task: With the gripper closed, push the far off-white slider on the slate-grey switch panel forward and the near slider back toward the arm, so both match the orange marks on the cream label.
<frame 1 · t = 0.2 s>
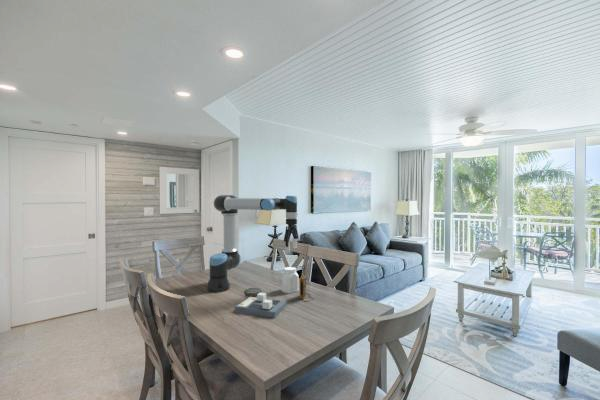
hand: (291, 249, 188), 28 cm above the table, tool pointing down, fingers open, 13 cm apart
switch panel: (261, 309, 157), on the table
near slider: (267, 304, 151), point 5 cm above the table, slide at 4.0 cm
jar: (290, 290, 189), on the table
far slider: (261, 296, 162), point 5 cm above the table, slide at -4.0 cm
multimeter: (308, 298, 175), on the table
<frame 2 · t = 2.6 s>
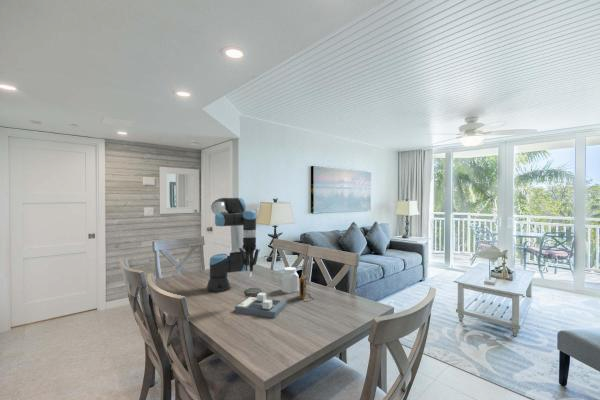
hand: (249, 276, 164), 16 cm above the table, tool pointing down, fingers closed
nothing on the table moved.
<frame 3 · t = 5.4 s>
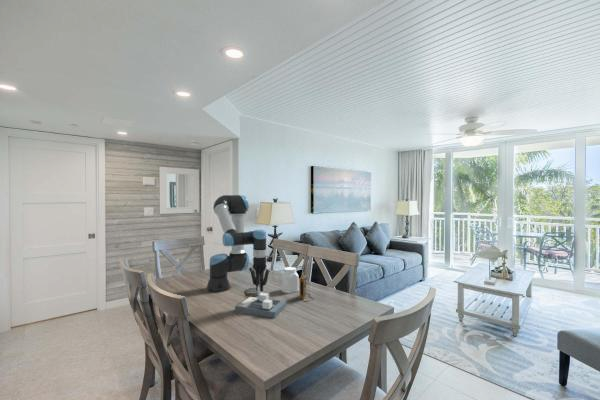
hand: (259, 296, 162), 5 cm above the table, tool pointing down, fingers closed
far slider: (264, 297, 162), point 5 cm above the table, slide at -2.4 cm, touching gripper
everything else where it was.
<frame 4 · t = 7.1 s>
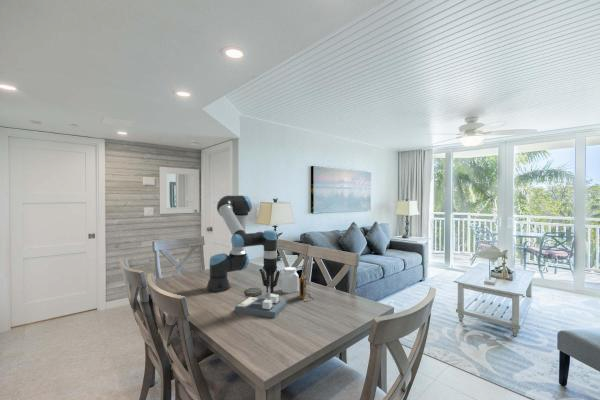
hand: (270, 298, 160), 5 cm above the table, tool pointing down, fingers closed
far slider: (274, 298, 159), point 5 cm above the table, slide at 4.1 cm, touching gripper
everything else where it was.
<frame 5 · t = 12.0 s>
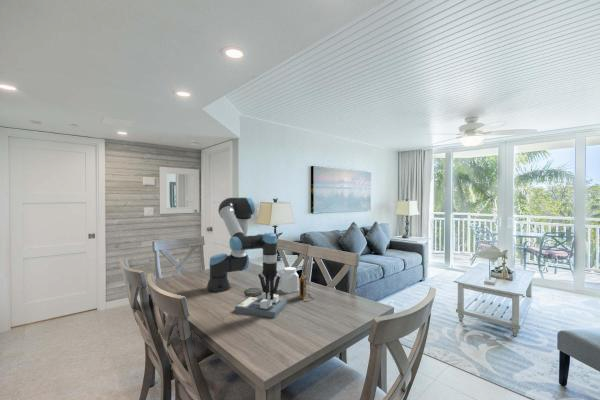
hand: (269, 305, 151), 5 cm above the table, tool pointing down, fingers closed
near slider: (265, 303, 151), point 5 cm above the table, slide at 2.6 cm, touching gripper
far slider: (274, 298, 159), point 5 cm above the table, slide at 4.1 cm
everything else where it was.
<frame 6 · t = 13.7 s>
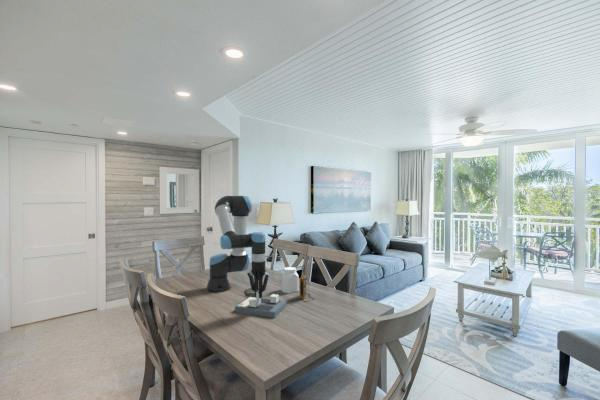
hand: (258, 303, 153), 5 cm above the table, tool pointing down, fingers closed
near slider: (254, 302, 154), point 5 cm above the table, slide at -4.1 cm, touching gripper
everything else where it was.
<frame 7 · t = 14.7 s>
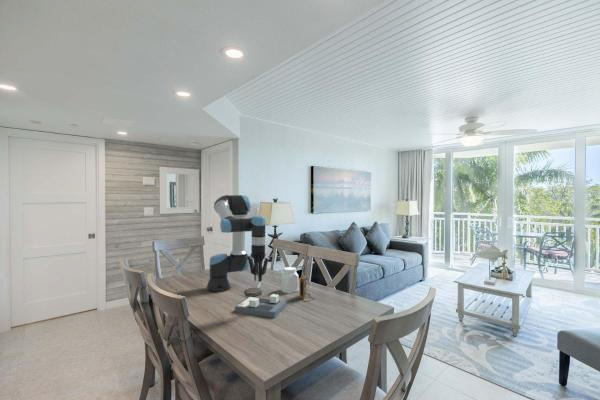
hand: (258, 286, 153), 14 cm above the table, tool pointing down, fingers closed
near slider: (254, 302, 154), point 5 cm above the table, slide at -4.1 cm
everything else where it was.
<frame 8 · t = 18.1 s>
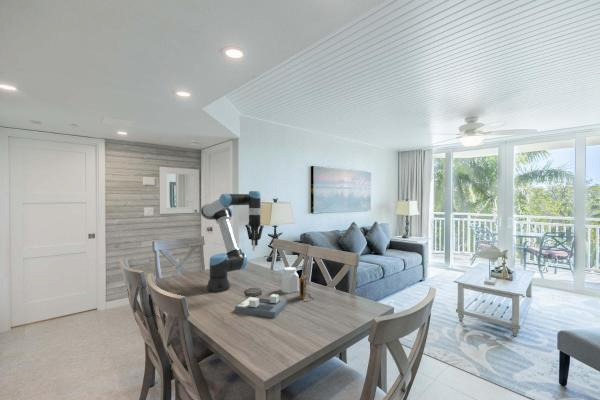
hand: (254, 250, 183), 28 cm above the table, tool pointing down, fingers closed
nothing on the table moved.
at the end: far slider slide at 4.1 cm; near slider slide at -4.1 cm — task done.
